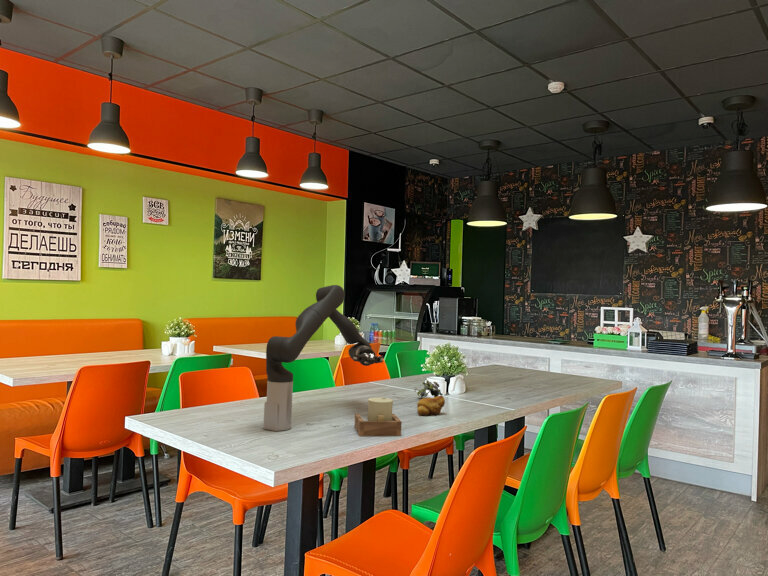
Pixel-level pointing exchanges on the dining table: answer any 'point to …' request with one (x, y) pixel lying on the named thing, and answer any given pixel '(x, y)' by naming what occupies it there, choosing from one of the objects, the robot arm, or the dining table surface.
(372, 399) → the can
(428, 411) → the bread roll
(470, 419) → the dining table surface
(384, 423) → the brown open square box
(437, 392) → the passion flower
